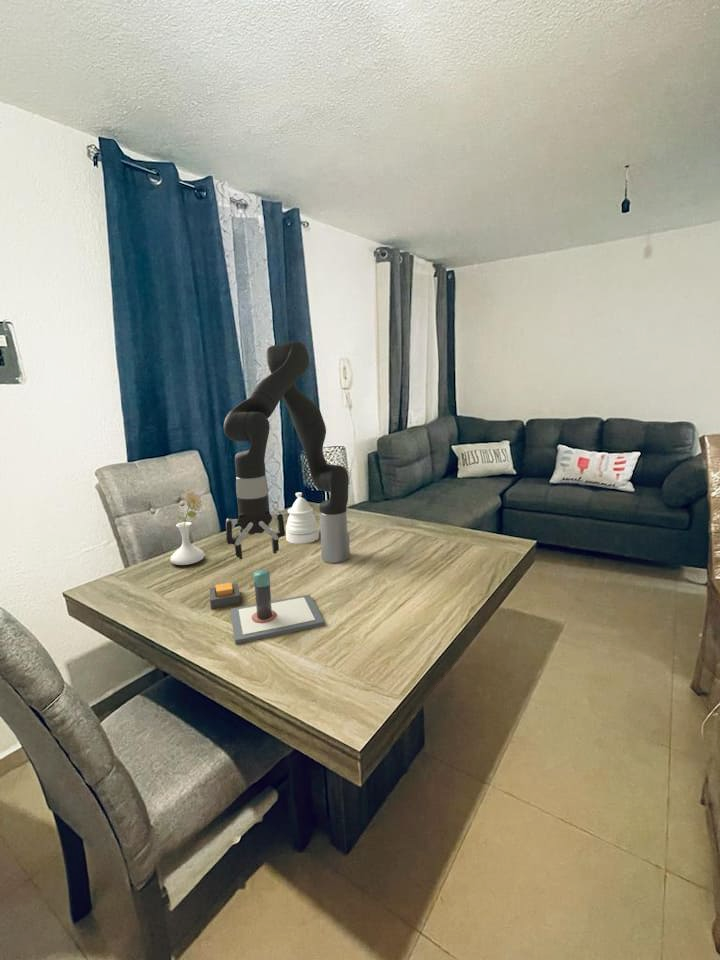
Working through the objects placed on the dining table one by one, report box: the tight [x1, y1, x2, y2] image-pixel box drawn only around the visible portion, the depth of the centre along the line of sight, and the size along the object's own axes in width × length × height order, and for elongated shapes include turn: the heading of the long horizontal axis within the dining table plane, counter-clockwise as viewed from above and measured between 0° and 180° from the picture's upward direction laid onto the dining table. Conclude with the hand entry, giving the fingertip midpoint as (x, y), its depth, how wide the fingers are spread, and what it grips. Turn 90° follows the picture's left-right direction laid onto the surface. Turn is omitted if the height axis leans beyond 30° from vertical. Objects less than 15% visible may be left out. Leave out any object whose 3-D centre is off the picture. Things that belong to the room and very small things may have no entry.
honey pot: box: [285, 491, 320, 545], centre depth 174 cm, size 13×13×18 cm
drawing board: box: [230, 594, 325, 645], centre depth 116 cm, size 22×16×1 cm
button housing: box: [209, 582, 242, 610], centre depth 127 cm, size 8×8×3 cm
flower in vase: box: [169, 490, 206, 566], centre depth 153 cm, size 13×11×25 cm
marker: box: [252, 569, 272, 620], centre depth 114 cm, size 4×4×12 cm
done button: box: [215, 582, 233, 597], centre depth 127 cm, size 4×4×2 cm
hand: (257, 555), depth 112 cm, fingers open, 8 cm apart
